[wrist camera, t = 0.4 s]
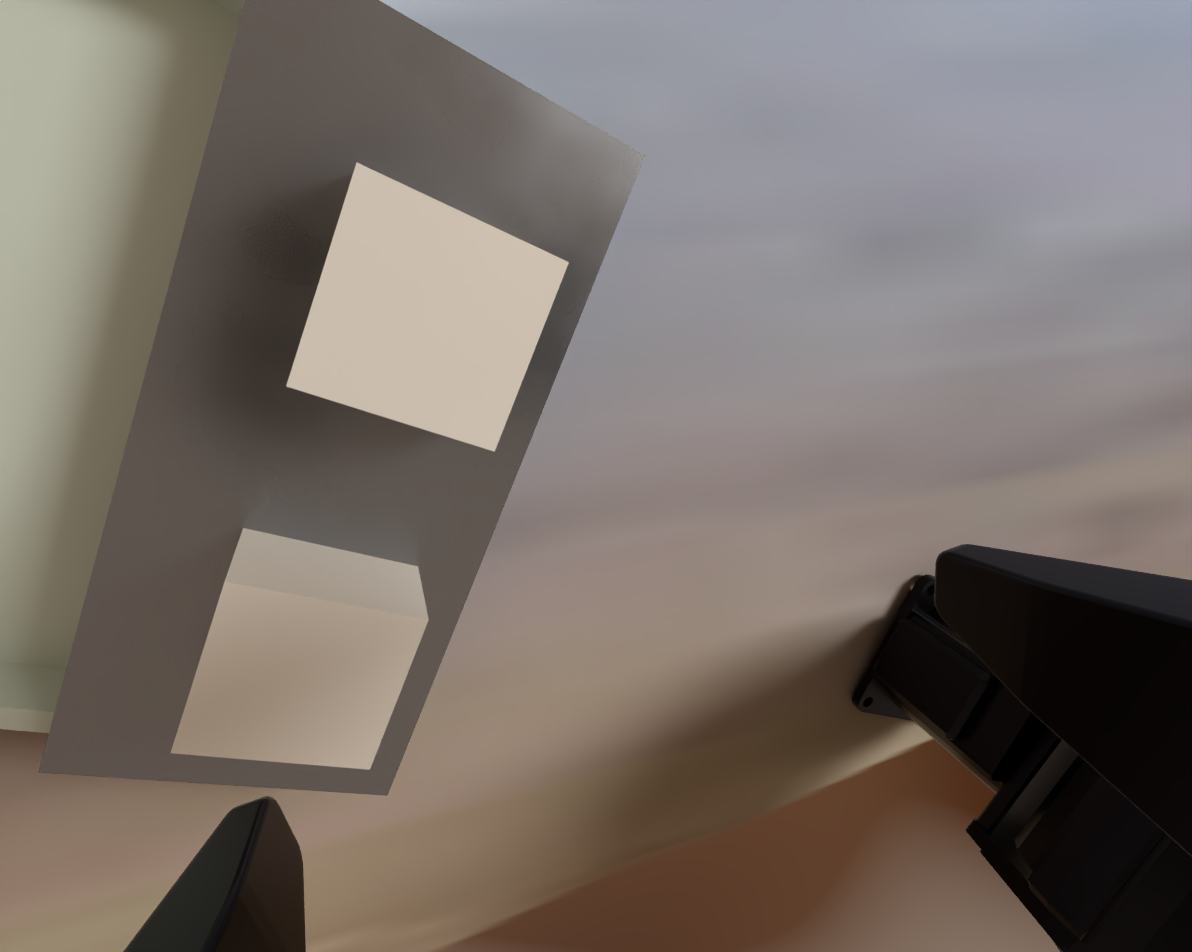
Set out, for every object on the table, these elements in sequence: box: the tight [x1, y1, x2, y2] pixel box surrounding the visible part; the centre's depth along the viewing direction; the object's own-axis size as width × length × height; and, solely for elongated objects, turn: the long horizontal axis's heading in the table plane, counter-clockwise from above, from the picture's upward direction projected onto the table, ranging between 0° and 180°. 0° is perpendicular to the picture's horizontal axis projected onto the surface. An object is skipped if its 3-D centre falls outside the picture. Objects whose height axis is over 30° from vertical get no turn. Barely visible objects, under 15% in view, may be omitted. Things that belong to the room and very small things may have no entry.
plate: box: [39, 0, 645, 795], centre depth 16 cm, size 8×18×3 cm, turn 156°
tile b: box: [171, 528, 429, 770], centre depth 15 cm, size 4×4×2 cm
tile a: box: [286, 163, 569, 452], centre depth 13 cm, size 4×4×2 cm
